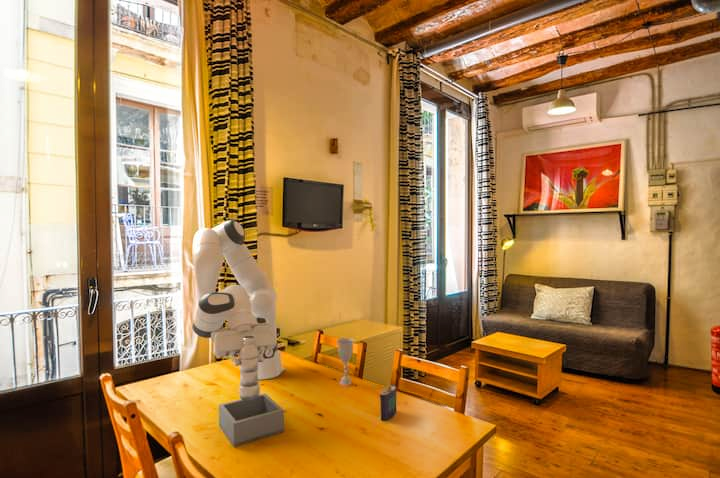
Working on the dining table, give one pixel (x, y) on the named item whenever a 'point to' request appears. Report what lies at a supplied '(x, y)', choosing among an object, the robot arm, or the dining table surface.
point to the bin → (250, 419)
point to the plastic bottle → (249, 369)
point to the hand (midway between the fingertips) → (249, 363)
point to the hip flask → (388, 403)
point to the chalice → (345, 356)
